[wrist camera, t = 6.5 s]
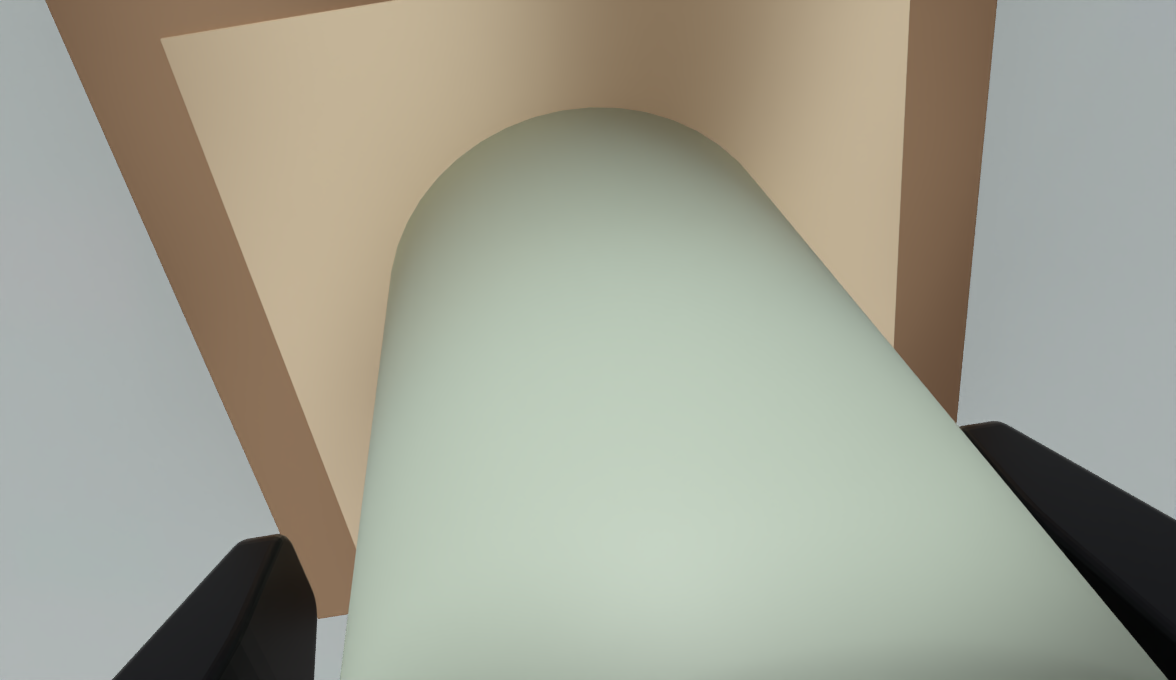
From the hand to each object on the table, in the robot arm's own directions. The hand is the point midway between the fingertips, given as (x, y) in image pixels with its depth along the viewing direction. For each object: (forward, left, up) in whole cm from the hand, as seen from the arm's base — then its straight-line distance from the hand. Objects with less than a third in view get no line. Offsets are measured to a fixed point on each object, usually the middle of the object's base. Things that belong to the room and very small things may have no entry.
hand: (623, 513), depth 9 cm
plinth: (0, 0, -6) cm, 6 cm away
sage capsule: (0, 0, -4) cm, 4 cm away
